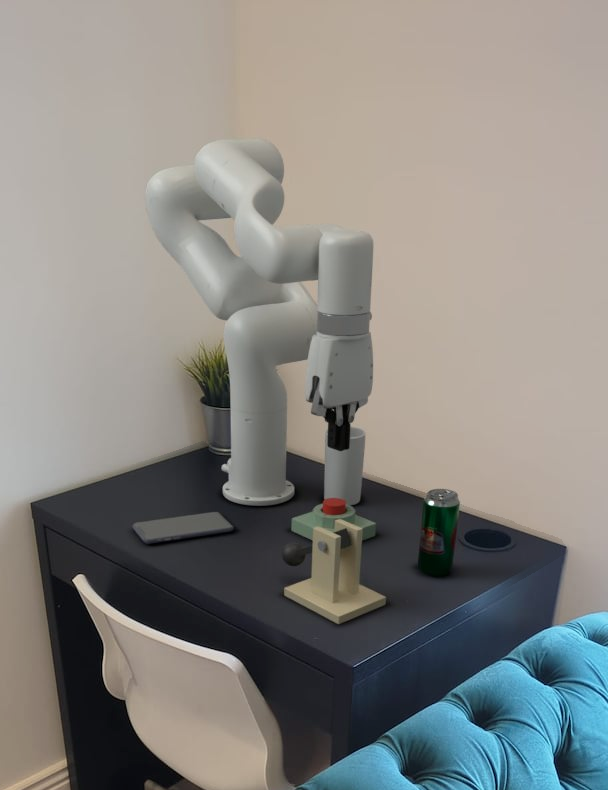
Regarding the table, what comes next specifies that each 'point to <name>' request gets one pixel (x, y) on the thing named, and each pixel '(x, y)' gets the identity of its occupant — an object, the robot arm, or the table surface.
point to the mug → (345, 469)
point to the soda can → (438, 532)
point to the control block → (330, 522)
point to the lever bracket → (336, 577)
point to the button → (334, 506)
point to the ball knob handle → (308, 549)
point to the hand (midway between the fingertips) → (338, 448)
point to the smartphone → (182, 527)
